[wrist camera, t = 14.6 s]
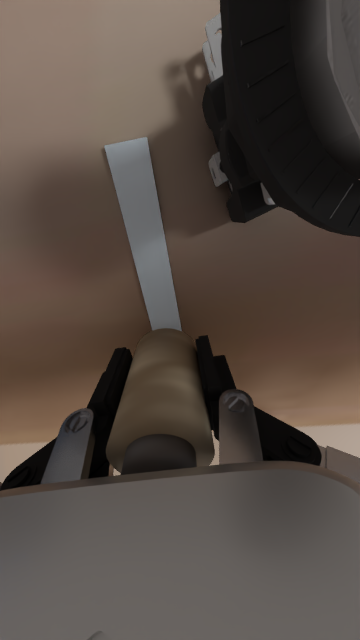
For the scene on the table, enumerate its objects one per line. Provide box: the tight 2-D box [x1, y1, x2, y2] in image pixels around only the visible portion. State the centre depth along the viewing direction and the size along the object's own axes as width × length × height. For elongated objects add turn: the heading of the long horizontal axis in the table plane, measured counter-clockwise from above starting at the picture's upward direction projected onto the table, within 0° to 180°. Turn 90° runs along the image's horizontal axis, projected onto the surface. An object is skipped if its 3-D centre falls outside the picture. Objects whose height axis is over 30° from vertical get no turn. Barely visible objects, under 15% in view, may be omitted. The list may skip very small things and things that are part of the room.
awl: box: [106, 328, 215, 475], centre depth 8 cm, size 4×4×10 cm
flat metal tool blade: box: [104, 137, 182, 331], centre depth 12 cm, size 2×13×1 cm, turn 9°
